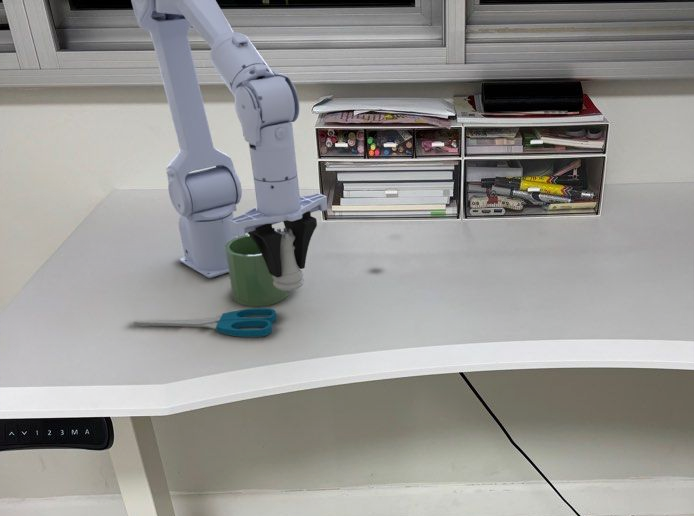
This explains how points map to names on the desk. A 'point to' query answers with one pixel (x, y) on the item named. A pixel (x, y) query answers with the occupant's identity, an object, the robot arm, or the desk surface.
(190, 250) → the robot arm
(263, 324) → the scissors
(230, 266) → the planter
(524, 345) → the desk surface
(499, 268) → the desk surface
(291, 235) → the rook chess piece
